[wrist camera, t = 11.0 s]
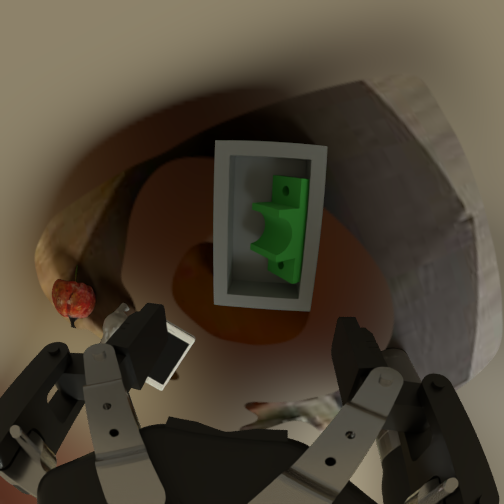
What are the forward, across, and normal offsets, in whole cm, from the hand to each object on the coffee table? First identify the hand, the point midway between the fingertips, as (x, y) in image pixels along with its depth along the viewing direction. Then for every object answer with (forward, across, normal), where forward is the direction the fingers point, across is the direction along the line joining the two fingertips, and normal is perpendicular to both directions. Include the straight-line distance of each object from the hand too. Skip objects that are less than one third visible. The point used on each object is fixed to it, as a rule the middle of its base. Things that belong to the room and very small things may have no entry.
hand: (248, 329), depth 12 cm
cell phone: (+23, +17, +23) cm, 36 cm away
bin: (+22, 0, 0) cm, 22 cm away
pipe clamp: (+20, 0, 0) cm, 20 cm away
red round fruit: (+22, +29, +11) cm, 38 cm away
